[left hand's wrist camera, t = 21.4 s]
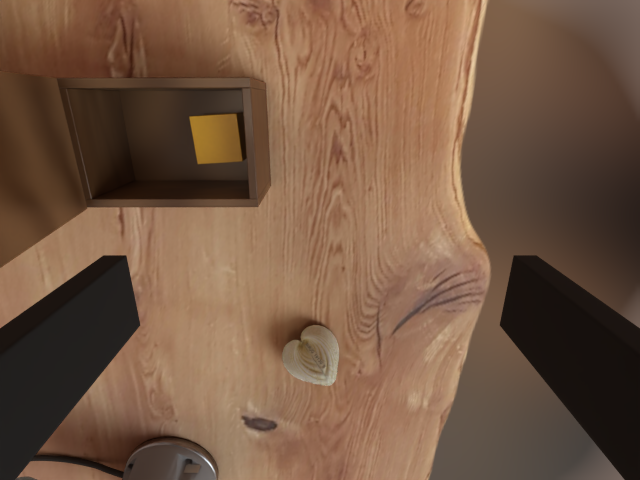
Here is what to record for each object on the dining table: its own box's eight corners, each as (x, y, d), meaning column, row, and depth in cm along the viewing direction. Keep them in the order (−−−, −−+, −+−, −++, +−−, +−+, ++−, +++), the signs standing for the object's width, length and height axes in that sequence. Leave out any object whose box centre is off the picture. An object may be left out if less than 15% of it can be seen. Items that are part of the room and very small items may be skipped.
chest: (266, 82, 41) (249, 77, 32) (271, 185, 45) (258, 207, 36) (114, 83, 41) (54, 77, 32) (133, 185, 46) (85, 207, 36)
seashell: (321, 314, 49) (358, 365, 47) (321, 320, 57) (352, 364, 55) (271, 352, 48) (307, 406, 46) (278, 352, 56) (308, 398, 54)
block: (245, 112, 42) (236, 113, 37) (250, 155, 43) (242, 161, 39) (203, 114, 42) (189, 116, 37) (210, 157, 43) (197, 164, 39)
